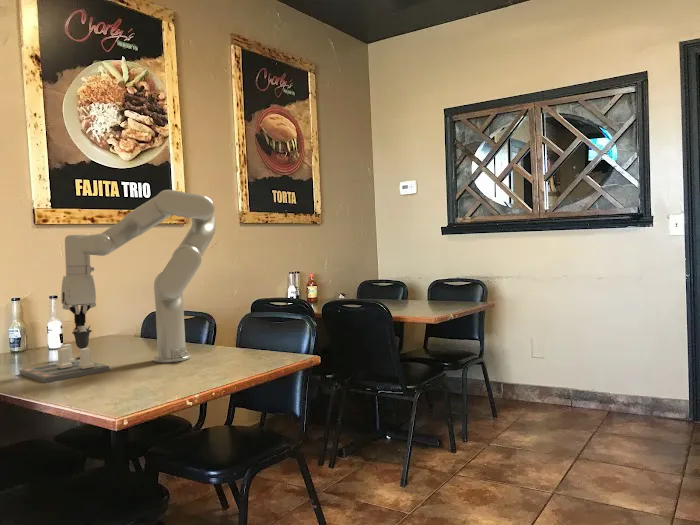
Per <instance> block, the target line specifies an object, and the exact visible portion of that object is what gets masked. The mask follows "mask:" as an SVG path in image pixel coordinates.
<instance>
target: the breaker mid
mask: <svg viewBox="0 0 700 525" xmlns="http://www.w3.org/2000/svg"><path fill="white" fill-rule="evenodd" d="M57 361H58V362H57V363H58V364H56V363H55V364H56V367H58V368H67V367H72V363H70V360H69V349H68V348H61V347H60V348H57Z"/></svg>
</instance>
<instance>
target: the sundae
mask: <svg viewBox="0 0 700 525" xmlns="http://www.w3.org/2000/svg"><path fill="white" fill-rule="evenodd" d="M74 321H75V318H74ZM90 327H91V325H89V326H87V325H86V324H85V325H84V326H76V324H75V327H74V329H73V330H72V333H71V334H73V336H74V339H75V340H74V341H75V346H76V347H77V348H78V349H79V350H80V349H83V348H88V346H89V343H90V333H91V332H93V331H92V330H91V329H90ZM79 359H80V356H78V357H76V358H75V360H79Z"/></svg>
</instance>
